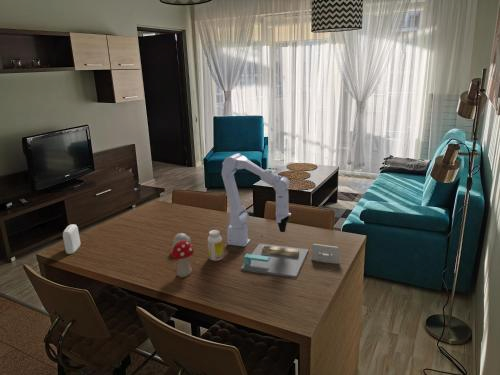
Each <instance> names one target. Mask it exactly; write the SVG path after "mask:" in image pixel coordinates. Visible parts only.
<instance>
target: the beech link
mask: <svg viewBox="0 0 500 375" xmlns="http://www.w3.org/2000/svg"><path fill="white" fill-rule="evenodd" d="M270 245H271V244H268V245H263V246H262V253H265V254H268V253H271V254H279V255H287V256H294V257H298V255H299V249H291V248H283V247H274V246H270Z"/></svg>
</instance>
